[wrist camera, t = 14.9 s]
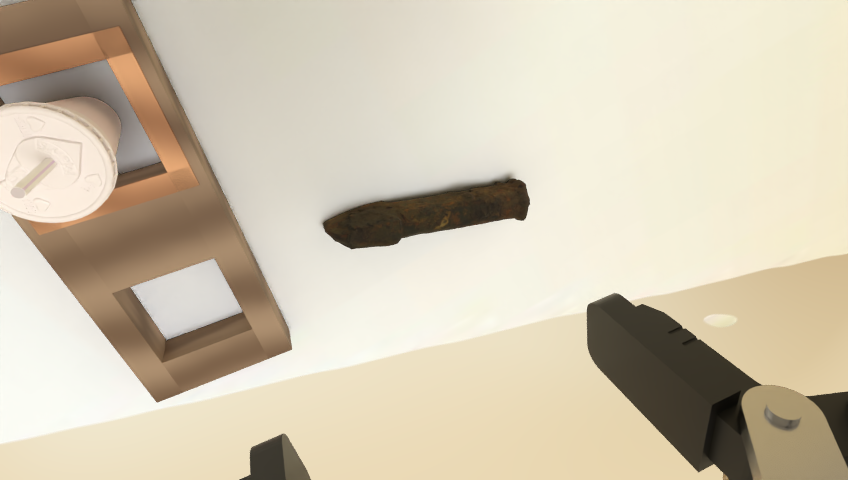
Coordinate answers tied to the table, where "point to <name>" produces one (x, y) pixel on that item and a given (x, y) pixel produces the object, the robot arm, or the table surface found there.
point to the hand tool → (428, 214)
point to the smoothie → (57, 158)
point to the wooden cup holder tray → (143, 206)
